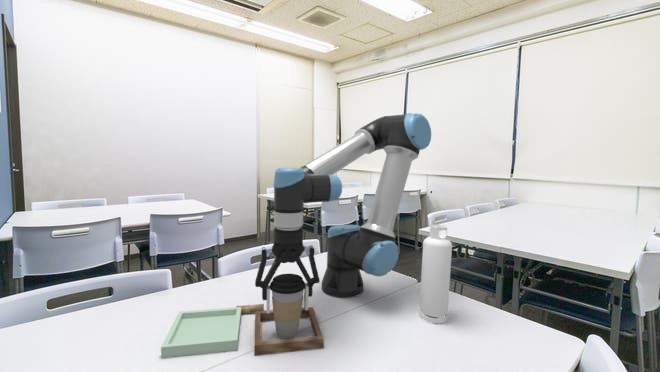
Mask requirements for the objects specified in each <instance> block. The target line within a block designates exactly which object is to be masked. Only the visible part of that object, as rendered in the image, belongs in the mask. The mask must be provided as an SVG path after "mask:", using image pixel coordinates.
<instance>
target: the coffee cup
mask: <svg viewBox="0 0 660 372" xmlns="http://www.w3.org/2000/svg"><path fill="white" fill-rule="evenodd" d="M303 278H304V277H302V275H299V274H295V273H281V274H278V275H274V276H273V278H272V280H271V281H270V283H269V285H270V291H271V293H272V296H271V299H272V301H271V302H272V310H273V313H274V318H275V320H274V326H275V334H276V336H277V337H278V338H279V339H281V340H282V339H292V338H296V337H297V336H298V334H299V332H300V331H299V330H300V329H299V328H300V322H301V318H300V317H301V311H302V308H303V304H304V289H305V283H306V282H305V281H304V279H303Z"/></svg>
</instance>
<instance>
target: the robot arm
mask: <svg viewBox="0 0 660 372" xmlns="http://www.w3.org/2000/svg"><path fill="white" fill-rule="evenodd" d="M431 141H432V130H431V125H430V122H429V120H428V119H427V118H426V116H425V115H423V114H421V113H417V112H416V113H411V112H407V113H406V114H395V115H384V116H381V117H379V118H376V119H374V120H372V121H371V122H369V123H367V124H365V125H363V126H362V127H360V128H359V129H357V130H356V131H355V133H354V135H353V136H351V137H350V138H347V139H345V140H344V141H343V142H340V144H337V145H336V146H334V147H333V148H331V149H329V150H327V151H326V152H324V153H323V154H321V155H319V156H318V157H316V158H314V159H313V160H312V161H309V162H308V163H306V164H304V165H302V166H300V167H278V168H276V169H275V170H274V179H273V200H274V203H273V209H274V210H273V226H274V228H273V245H272V246H271V247H267V248H266V247H265V246H264V247H262V248H261V260H260V263H259V267H258V268H257V269H258V271H257V274H256V278H255V283H254V286H255V287H256V288H261V290H262V291H261V292H262V293H261V296H262V298H261V299H262V301H266V310H267V314H268V313H270V310H271V290H270V283H271V282H272V280H273V278H274V277H275V274H276V271H278V268H279V267H280V265H281V264H287V263H289V264H290V263H292V264H293V263H294V264H295V263H296V265H297V266H298V268H299V270H300V272H301V273H302V276H303V278H304V279H305V281H306V282H305V289H304V290H303V306H304V307H305V310H308V307H309V298H312V297H313V287H314V285H315V284H319V283H320V276H319V272H318V269H317V265H316V259H315V249H316V248H314V246H313V245H309V246H308V245H307V246H305V245H304V244H303V243H304V242H303V238H304V237H303V235H304V232H303V231H304V228H303V227H304V206H305V205H304V204H310V203H325V202H326V203H329V202H334V201H337V200H338V199H339V198H340V197H341V195H342V192H343V183H342V180H341V179H340V177H339V176H338V175H335V174H336V173H338V172H339V171H341V170H342V169H344V168H345V167H347V166H348V165H350V164H352V163H354V161H356V160H358V159H359V158H361V157H363V156H364V155H371V154H372V153H374V152H375V151H380V150H383V151H384V152H385V154H386V155H385V160H384V162H383V166H382V170H381V172H380V176H379V180H378V183H377V186H376V190H375V194H374V196H373V199H372V200H373V201H372V203H371V207H370V210H369V214H368V217H367V220H366V223H363V224H362V225H361V226H360V225H358V224H339V225H338V224H337V225H334V226H330V227H329V229H328V231H327V236H326V239H327V241H326V242H327V243H326V245H327V247H326V250H327V251H326V270H325V272H324V275H323V278H322V280H321V290H322V292H323V293H324V294H327V295H328V296H331V297H335V298H341V299H342V298H354V297H357V295H358V296H360V295H361V294H362V293H363V292H364V288H365V286H364V280H363V277H362V273H361V271H362V272H364V273H365V274H367V275H372V276H375V277H383V276H385V275H388V273H390V272H391V271H392V270H393V269H394V267H395V266H396V265H397V261H398V260H399V247H398V245H397V244H396V243H395V240H396V235H395V233H394V232H393V231H394V230H393V229H394V226H395V222H396V219H397V215H398V213H399V208H400V205H401V201H402V197H403V193H404V190H405V188H406V184H407V180H408V176H409V173H410V169H411V165H412V162H413V161H414V160H416V159H418V158H419V155H420V151H421V150H422V151H423V150H425V149H426V148H427V147H428V146H429V145H430V143H431ZM304 252H305V253H306V255H307V257H308V260H309V265H310V269H311V273H312V277H310V274H309V273H308V271H307V269H306V267H305V265H304V263H303V262H302V260H301V256H302V254H304ZM271 254H273V255H274V256H275V258H274V259H273V260H274V261H273V262H272V264H271V265H270V266H271V267H270V268H269V269H268V271H267V274H266V276H265V277H264V272H265V268H266V264H267V260H268V258H269V257H270V256H271ZM263 277H264V279H263ZM262 279H263V280H262ZM359 294H360V295H359Z"/></svg>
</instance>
